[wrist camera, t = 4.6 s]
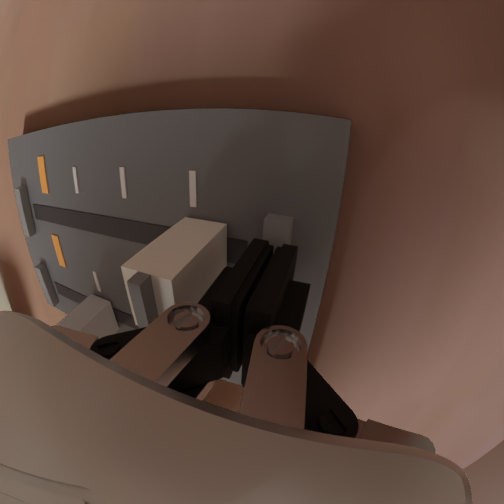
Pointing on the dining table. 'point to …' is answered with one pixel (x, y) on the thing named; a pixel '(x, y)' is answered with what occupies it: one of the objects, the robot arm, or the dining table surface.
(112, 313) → the fader
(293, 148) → the console
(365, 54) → the dining table surface
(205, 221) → the fader
